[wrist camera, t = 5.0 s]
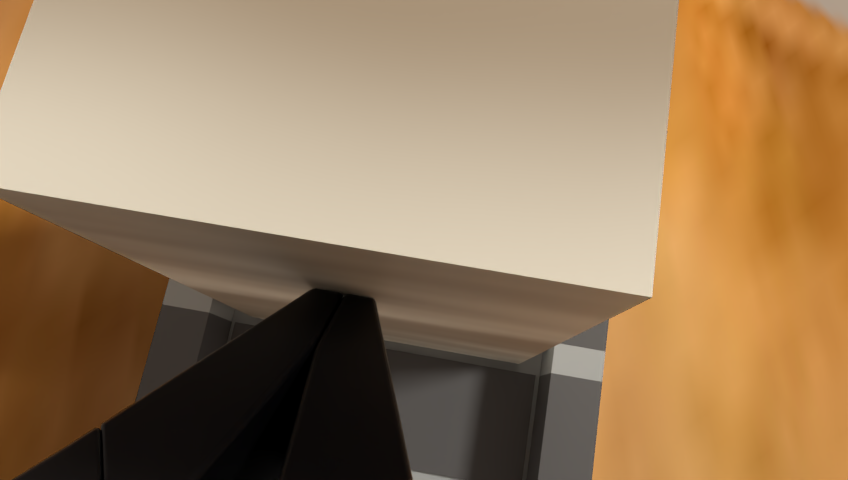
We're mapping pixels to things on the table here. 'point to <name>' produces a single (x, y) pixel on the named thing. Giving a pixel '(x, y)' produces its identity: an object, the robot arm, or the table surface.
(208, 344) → the channel
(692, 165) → the table surface
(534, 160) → the cream block
